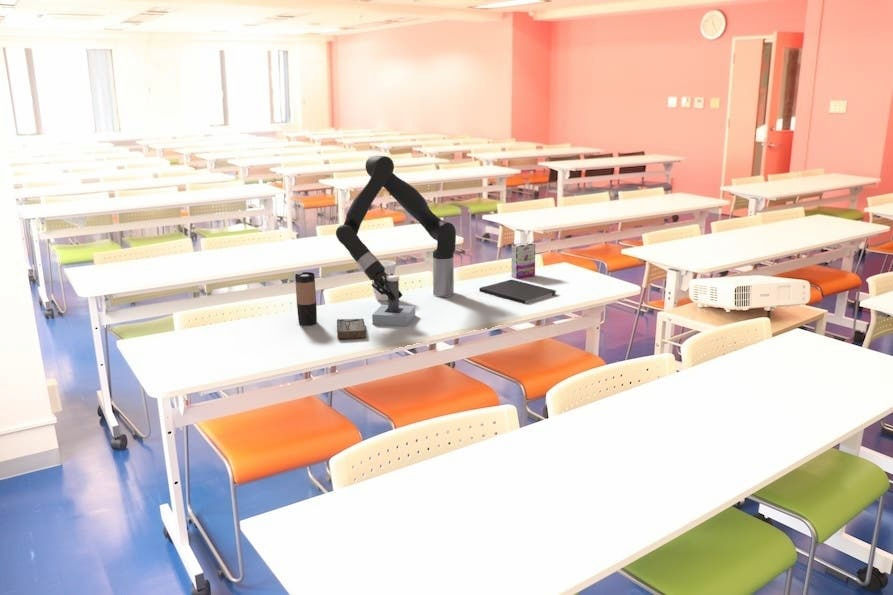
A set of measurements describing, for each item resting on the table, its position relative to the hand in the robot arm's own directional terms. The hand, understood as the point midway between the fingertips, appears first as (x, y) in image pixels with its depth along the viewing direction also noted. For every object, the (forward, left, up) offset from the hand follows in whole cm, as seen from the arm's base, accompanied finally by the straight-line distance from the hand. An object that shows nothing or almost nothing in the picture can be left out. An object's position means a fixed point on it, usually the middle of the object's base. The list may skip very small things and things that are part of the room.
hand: (397, 298), depth 293 cm
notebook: (-48, +43, -10) cm, 66 cm away
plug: (0, -2, -7) cm, 7 cm away
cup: (-29, -15, -9) cm, 34 cm away
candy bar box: (-78, +42, -9) cm, 90 cm away
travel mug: (+10, -35, -9) cm, 37 cm away
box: (+17, -14, -10) cm, 24 cm away
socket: (0, -2, -9) cm, 9 cm away
